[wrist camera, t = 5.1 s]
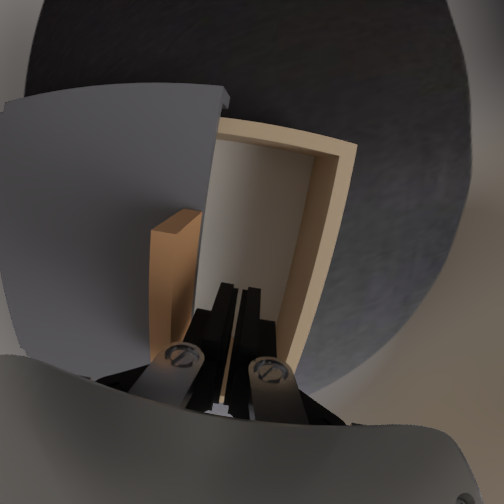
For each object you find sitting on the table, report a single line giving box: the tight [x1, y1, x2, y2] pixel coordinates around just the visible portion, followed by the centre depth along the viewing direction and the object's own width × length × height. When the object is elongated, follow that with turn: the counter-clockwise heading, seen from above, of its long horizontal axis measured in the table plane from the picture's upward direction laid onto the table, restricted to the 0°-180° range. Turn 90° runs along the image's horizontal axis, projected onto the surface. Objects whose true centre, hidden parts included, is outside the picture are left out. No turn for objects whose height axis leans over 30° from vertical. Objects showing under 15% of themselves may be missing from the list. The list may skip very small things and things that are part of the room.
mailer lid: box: [0, 83, 230, 381], centre depth 12 cm, size 18×14×6 cm
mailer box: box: [194, 117, 357, 403], centre depth 17 cm, size 16×13×7 cm
